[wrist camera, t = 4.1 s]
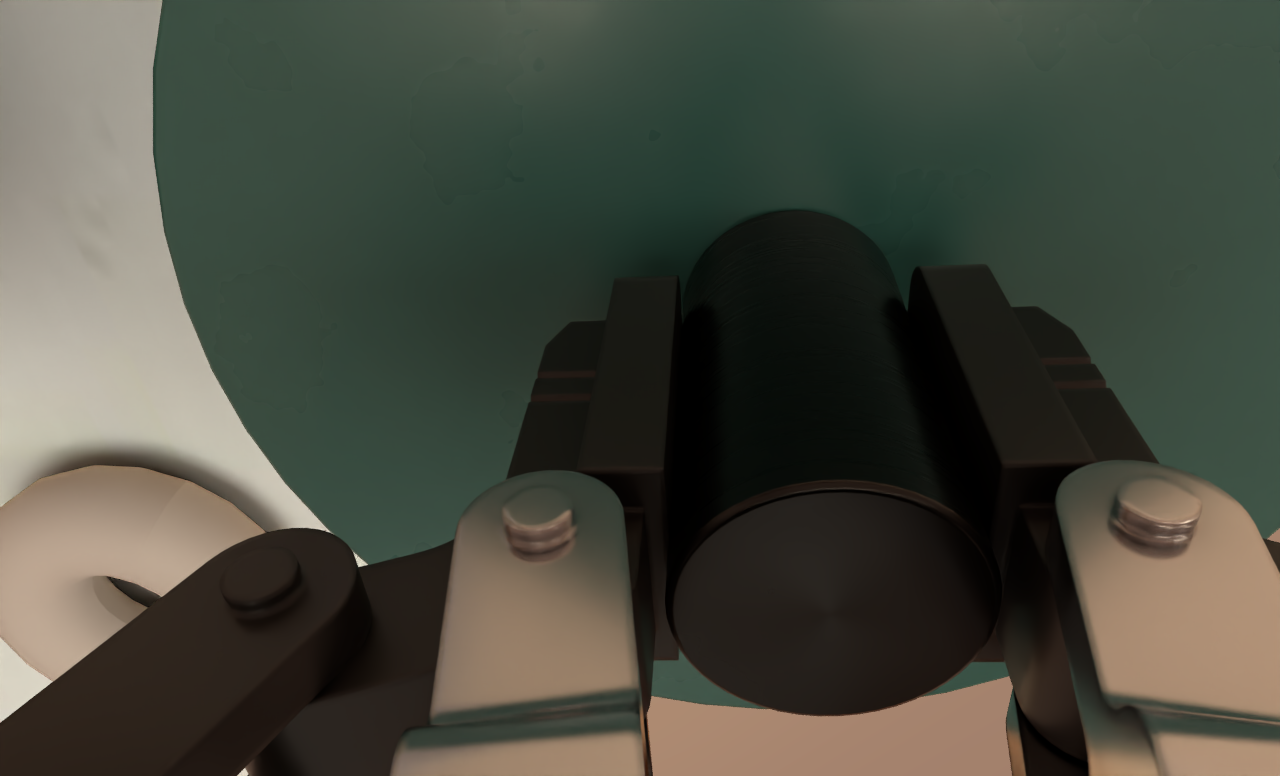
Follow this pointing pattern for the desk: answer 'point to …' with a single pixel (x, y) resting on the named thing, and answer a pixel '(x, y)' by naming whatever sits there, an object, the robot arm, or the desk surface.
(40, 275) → the desk surface
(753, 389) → the lid
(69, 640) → the donut
